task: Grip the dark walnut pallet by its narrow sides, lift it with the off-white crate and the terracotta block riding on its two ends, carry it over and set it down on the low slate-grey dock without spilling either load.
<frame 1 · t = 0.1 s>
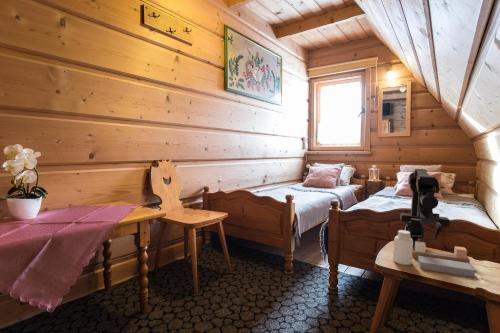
hand: (423, 238, 127), 15 cm above the table, tool pointing down, fingers open, 9 cm apart
cargo b: (460, 256, 135), point 3 cm above the table, touching pallet
pill bottle: (402, 262, 136), on the table
dock: (444, 268, 129), on the table
pallet: (439, 260, 139), on the table, touching cargo b
cargo a: (419, 250, 142), point 3 cm above the table
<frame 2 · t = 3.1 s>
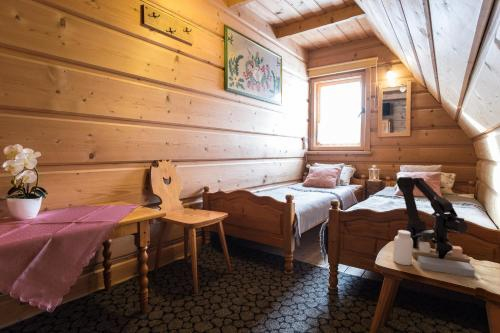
hand: (439, 257, 139), 1 cm above the table, tool pointing down, fingers closed on pallet, 5 cm apart
cargo b: (455, 255, 136), point 3 cm above the table, touching pallet
pallet: (439, 260, 139), on the table, touching cargo b, gripper
cargo a: (424, 251, 141), point 3 cm above the table
everything else where it was.
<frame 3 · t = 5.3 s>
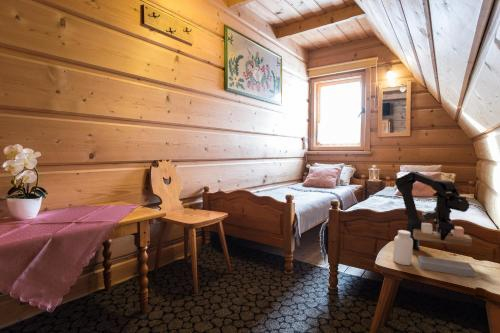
hand: (440, 238, 137), 11 cm above the table, tool pointing down, fingers closed on pallet, 5 cm apart
cargo b: (456, 235, 135), point 13 cm above the table, touching pallet
pallet: (440, 240, 138), point 10 cm above the table, touching cargo a, cargo b, gripper
cargo a: (426, 232, 140), point 13 cm above the table, touching pallet
everything else where it was.
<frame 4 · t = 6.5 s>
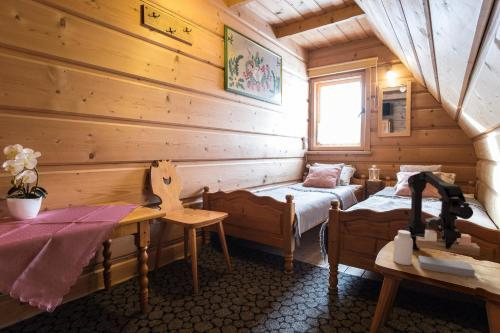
hand: (445, 246, 128), 11 cm above the table, tool pointing down, fingers closed on pallet, 5 cm apart
cargo b: (463, 243, 125), point 13 cm above the table, touching pallet
pallet: (445, 249, 128), point 9 cm above the table, touching cargo a, cargo b, gripper
cargo a: (430, 239, 130), point 13 cm above the table, touching pallet
everything else where it was.
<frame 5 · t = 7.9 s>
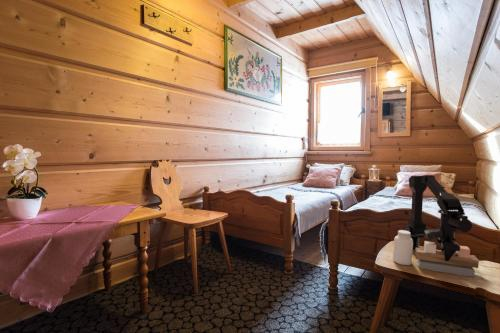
hand: (445, 258, 128), 5 cm above the table, tool pointing down, fingers closed on pallet, 5 cm apart
cargo b: (462, 256, 126), point 7 cm above the table, touching pallet
pallet: (444, 261, 129), point 4 cm above the table, touching cargo a, cargo b, gripper
cargo a: (429, 251, 131), point 7 cm above the table, touching pallet
everything else where it was.
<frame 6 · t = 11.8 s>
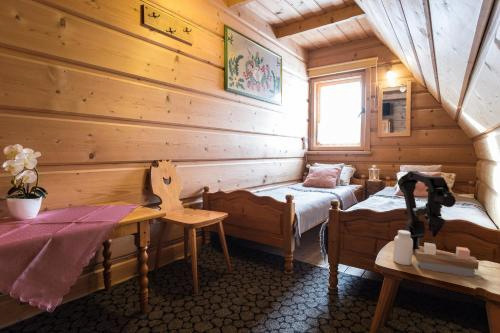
hand: (432, 233, 138), 13 cm above the table, tool pointing down, fingers open, 9 cm apart
pallet: (444, 262, 129), point 3 cm above the table, touching cargo a, cargo b, dock
at the end: pallet 0.1 cm from the target spot, point 3.0 cm above the table; cargo a 2.8 cm from the target spot on the pallet, point 3.5 cm above the pallet's base; cargo b 2.6 cm from the target spot on the pallet, point 3.5 cm above the pallet's base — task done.
